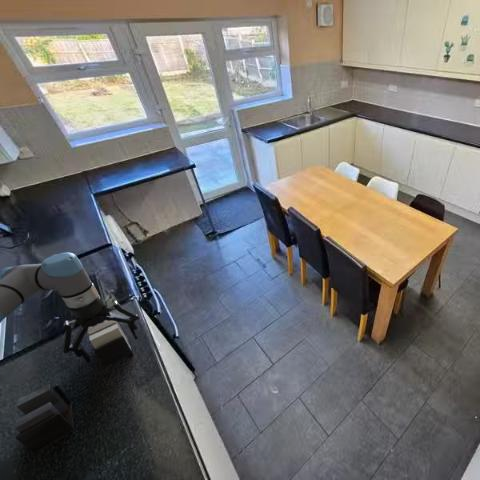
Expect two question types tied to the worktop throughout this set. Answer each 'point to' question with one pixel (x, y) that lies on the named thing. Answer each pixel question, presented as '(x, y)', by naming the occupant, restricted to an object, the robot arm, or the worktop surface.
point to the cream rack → (111, 344)
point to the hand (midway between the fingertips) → (113, 348)
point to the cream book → (106, 336)
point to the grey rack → (44, 417)
